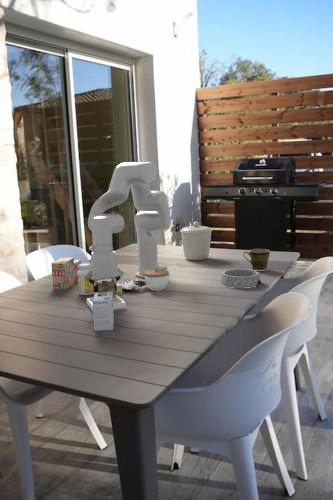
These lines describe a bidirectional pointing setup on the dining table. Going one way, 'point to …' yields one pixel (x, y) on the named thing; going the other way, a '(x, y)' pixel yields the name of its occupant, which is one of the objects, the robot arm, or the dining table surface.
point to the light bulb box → (103, 311)
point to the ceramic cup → (259, 258)
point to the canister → (196, 241)
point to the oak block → (119, 290)
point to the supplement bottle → (84, 280)
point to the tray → (117, 303)
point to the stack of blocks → (65, 272)
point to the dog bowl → (240, 278)
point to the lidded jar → (156, 279)
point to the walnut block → (106, 286)
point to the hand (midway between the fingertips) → (105, 293)
